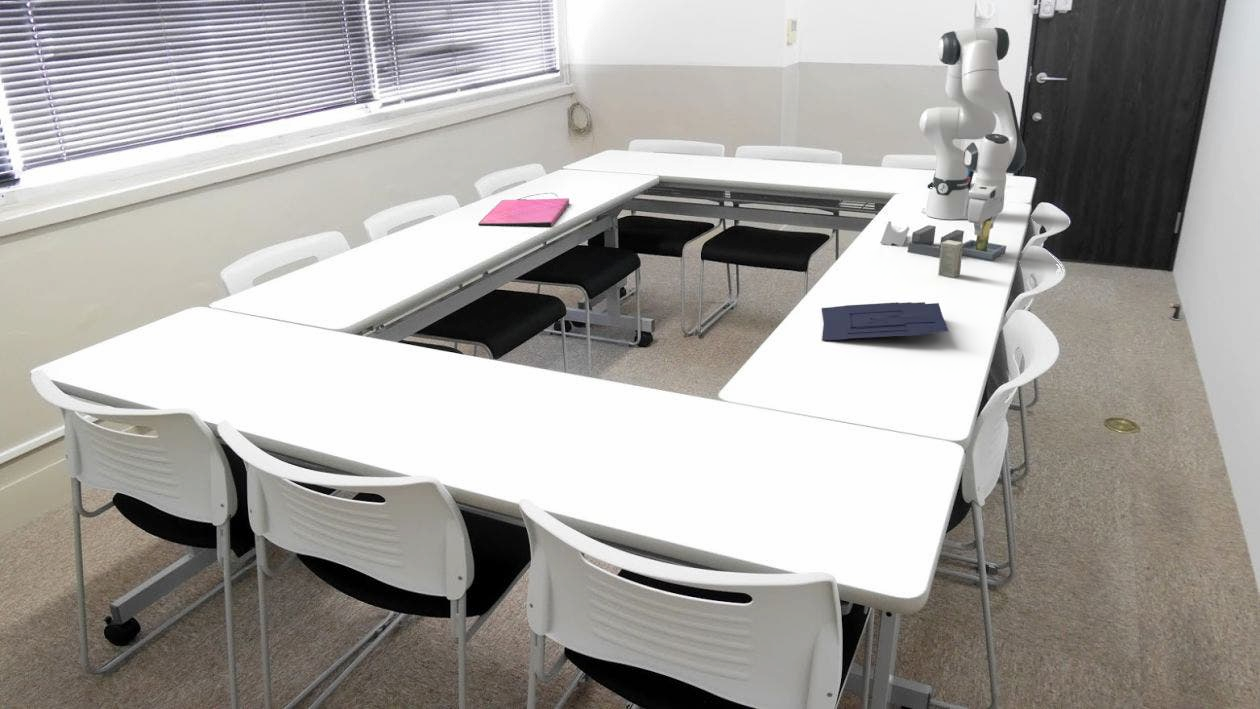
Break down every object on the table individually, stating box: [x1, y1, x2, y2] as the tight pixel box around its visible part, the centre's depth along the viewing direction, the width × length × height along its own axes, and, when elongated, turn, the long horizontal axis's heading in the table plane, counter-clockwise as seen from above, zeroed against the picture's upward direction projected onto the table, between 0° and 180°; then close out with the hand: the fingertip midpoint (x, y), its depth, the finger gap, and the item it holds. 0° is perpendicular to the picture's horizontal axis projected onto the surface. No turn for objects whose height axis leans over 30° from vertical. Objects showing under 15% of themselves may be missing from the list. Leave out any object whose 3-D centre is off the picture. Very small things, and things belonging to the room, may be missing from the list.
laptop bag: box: [477, 192, 570, 228], centre depth 349 cm, size 40×4×27 cm
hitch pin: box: [975, 216, 992, 252], centre depth 291 cm, size 4×4×12 cm
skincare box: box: [937, 240, 964, 278], centre depth 272 cm, size 5×4×10 cm
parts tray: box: [962, 239, 1007, 262], centre depth 293 cm, size 12×12×2 cm
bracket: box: [880, 219, 911, 247], centre depth 308 cm, size 13×7×8 cm, turn 164°
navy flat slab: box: [821, 301, 949, 341], centre depth 234 cm, size 24×30×4 cm
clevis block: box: [907, 224, 965, 259], centre depth 296 cm, size 14×12×6 cm
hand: (983, 231), depth 290 cm, fingers open, 8 cm apart
